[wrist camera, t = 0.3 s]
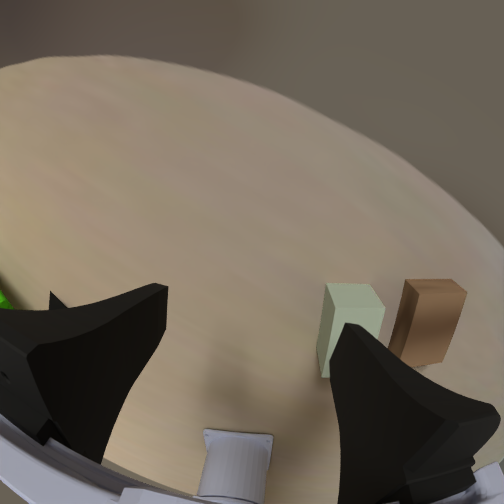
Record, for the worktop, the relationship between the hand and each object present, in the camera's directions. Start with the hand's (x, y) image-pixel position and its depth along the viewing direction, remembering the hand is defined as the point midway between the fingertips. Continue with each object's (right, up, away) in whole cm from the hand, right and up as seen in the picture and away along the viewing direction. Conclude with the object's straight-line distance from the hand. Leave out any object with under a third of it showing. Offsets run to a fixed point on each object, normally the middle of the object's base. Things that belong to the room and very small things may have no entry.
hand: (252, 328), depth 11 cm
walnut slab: (+15, -3, +10) cm, 18 cm away
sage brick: (+7, -2, +11) cm, 13 cm away
